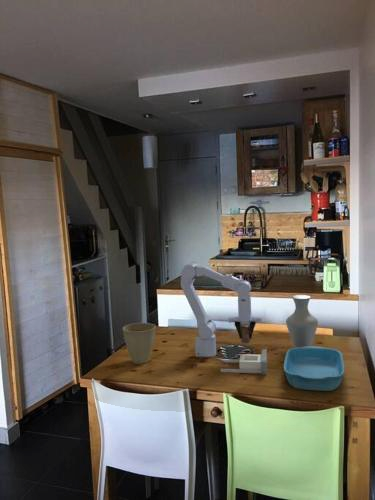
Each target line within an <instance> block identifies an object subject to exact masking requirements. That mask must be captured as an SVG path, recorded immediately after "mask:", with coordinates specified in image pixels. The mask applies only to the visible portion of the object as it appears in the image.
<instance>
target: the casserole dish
mask: <svg viewBox="0 0 375 500" xmlns="http://www.w3.org/2000/svg"><path fill="white" fill-rule="evenodd" d="M343 357H344V356H343V353H342V352H341V351H339V350H337V349H335V348H329V347H323V346H314V345H313V346H312V345H311V346H305V347H291V348H289V349H288V350H287V351H286V353H285V357H284V362H283V371H284V373H285V377H286V379H287V381H288V383H289V385H291V386H292V387H293V388H295V389H300V390H307V391H318V392H331V391H335V390H336V389H337V388H338V387H339V386H340V384H341V382H342V380H343V376H344V373H345V364H344V358H343Z"/></svg>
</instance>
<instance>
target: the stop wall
mask: <svg viewBox="0 0 375 500" xmlns="http://www.w3.org/2000/svg"><path fill="white" fill-rule="evenodd" d="M267 353H268V350H267V349H266V348H264V349H261V355H262V359H261V368H262V373H261V375H262V376H266V375H268V373H267V372H268V354H267Z"/></svg>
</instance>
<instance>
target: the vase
mask: <svg viewBox="0 0 375 500" xmlns="http://www.w3.org/2000/svg"><path fill="white" fill-rule="evenodd" d="M291 298H292V300H293V302H294V304H295V307H294V308H295V309H294V312H293V313H292V314H291V315H290V316H288V317H287V318H286V320H285V322H286V327H287V331H288V333H289V338H290V339H291V342H292V344H293V348H295V347H305V346H312V344H313V341H314V339H315V335H316V333H317V329H318V325H319V321H318V319H317V318H316V317H315V316H314V315H312V313H310V311H309V308H308V307H309V302H310V299H311V296H310V295H305V294H297V295H292V297H291Z"/></svg>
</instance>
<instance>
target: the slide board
mask: <svg viewBox="0 0 375 500" xmlns="http://www.w3.org/2000/svg"><path fill="white" fill-rule="evenodd" d="M239 361H240V359H230V358H229V359H227V358H225V359H223V362H222V363H226V364H227V363H231V364H235V363H236V364H239ZM220 373H239V374H240V373H243V374H247V373H248V374H262V370H250V369H240V368H238V369H237V368H220Z"/></svg>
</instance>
